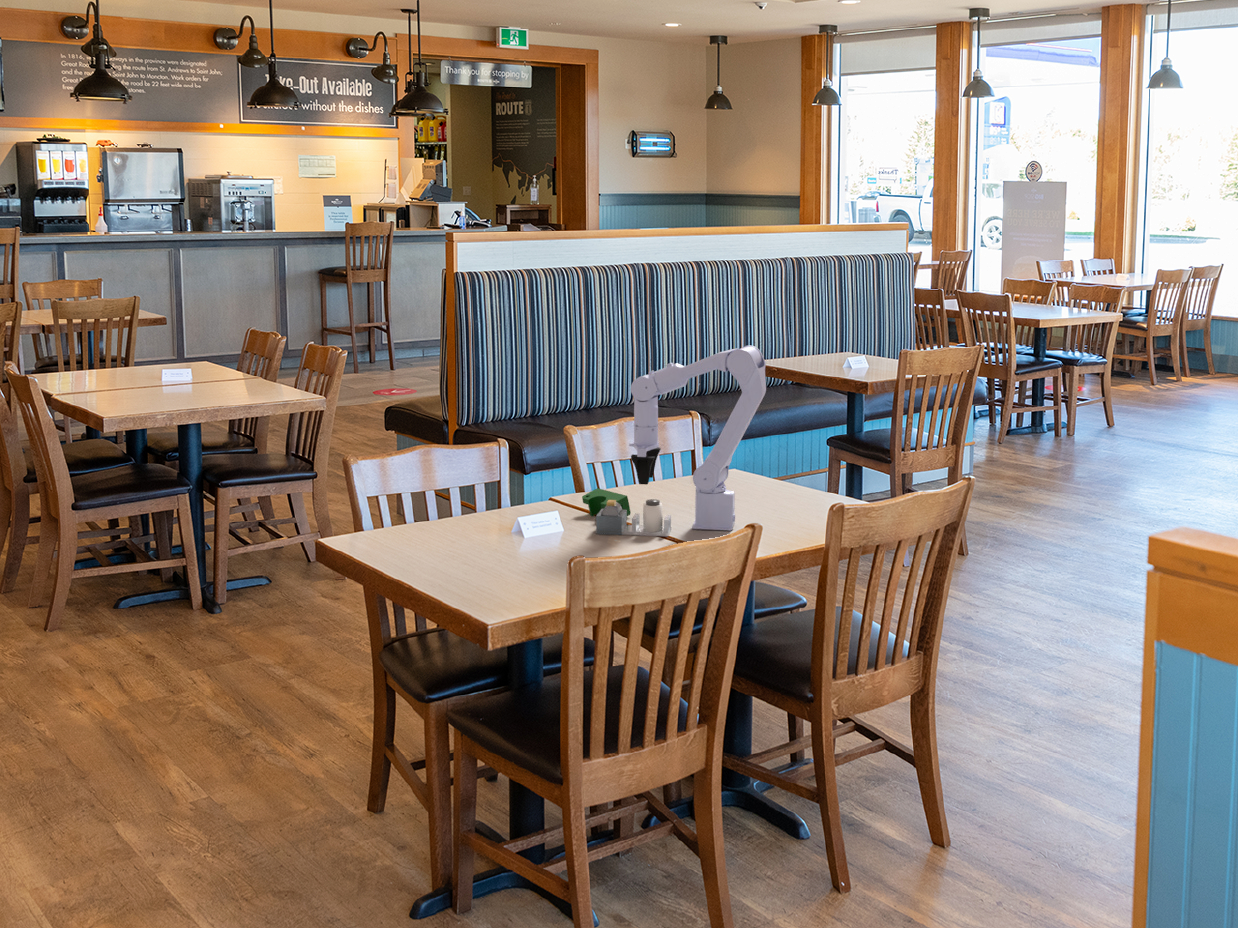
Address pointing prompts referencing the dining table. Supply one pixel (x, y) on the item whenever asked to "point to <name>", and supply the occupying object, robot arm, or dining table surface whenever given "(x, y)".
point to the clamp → (604, 500)
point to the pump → (652, 515)
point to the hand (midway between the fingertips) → (645, 480)
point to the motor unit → (624, 522)
